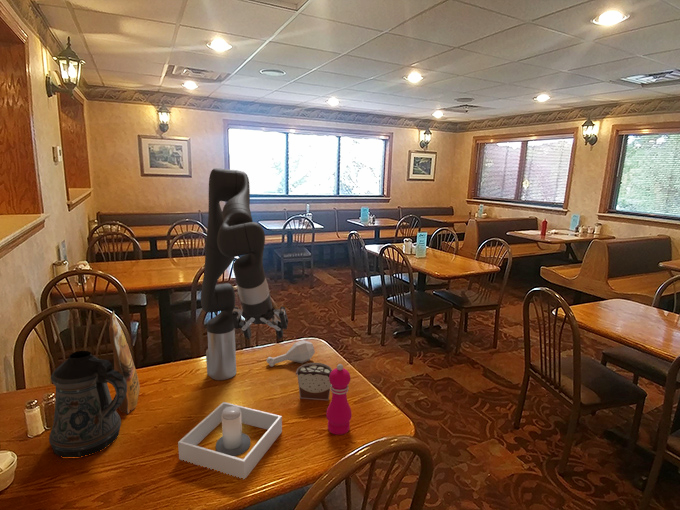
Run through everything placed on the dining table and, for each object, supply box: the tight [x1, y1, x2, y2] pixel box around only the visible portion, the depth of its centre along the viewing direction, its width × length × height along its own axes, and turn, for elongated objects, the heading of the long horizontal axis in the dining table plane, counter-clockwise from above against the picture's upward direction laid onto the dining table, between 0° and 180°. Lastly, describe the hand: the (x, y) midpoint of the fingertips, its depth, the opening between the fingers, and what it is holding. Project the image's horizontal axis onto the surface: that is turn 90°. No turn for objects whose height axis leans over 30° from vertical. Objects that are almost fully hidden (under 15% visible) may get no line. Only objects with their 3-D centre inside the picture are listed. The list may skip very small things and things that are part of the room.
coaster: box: [215, 432, 251, 457], centre depth 110 cm, size 9×9×1 cm
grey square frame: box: [177, 401, 283, 480], centre depth 109 cm, size 19×19×5 cm
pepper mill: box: [325, 363, 352, 436], centre depth 116 cm, size 7×7×20 cm
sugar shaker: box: [221, 406, 243, 449], centre depth 109 cm, size 5×5×10 cm
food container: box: [295, 362, 333, 401], centre depth 134 cm, size 12×6×10 cm, turn 84°
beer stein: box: [48, 350, 127, 457], centre depth 109 cm, size 16×19×25 cm
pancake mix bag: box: [108, 310, 141, 414], centre depth 126 cm, size 7×19×28 cm, turn 20°
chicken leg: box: [266, 339, 316, 367], centre depth 155 cm, size 8×18×8 cm, turn 110°
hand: (264, 337), depth 113 cm, fingers open, 8 cm apart
